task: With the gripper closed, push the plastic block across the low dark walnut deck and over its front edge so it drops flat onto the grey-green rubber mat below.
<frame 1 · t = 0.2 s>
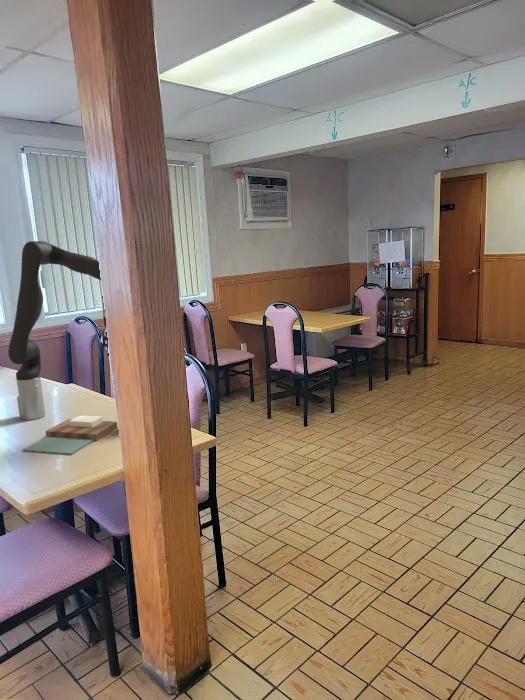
hand: (116, 354, 204), 28 cm above the table, tool pointing down, fingers open, 8 cm apart
plastic block: (86, 421, 201), point 3 cm above the table, touching walnut deck
walnut deck: (82, 432, 199), on the table
rubber mat: (59, 446, 186), on the table
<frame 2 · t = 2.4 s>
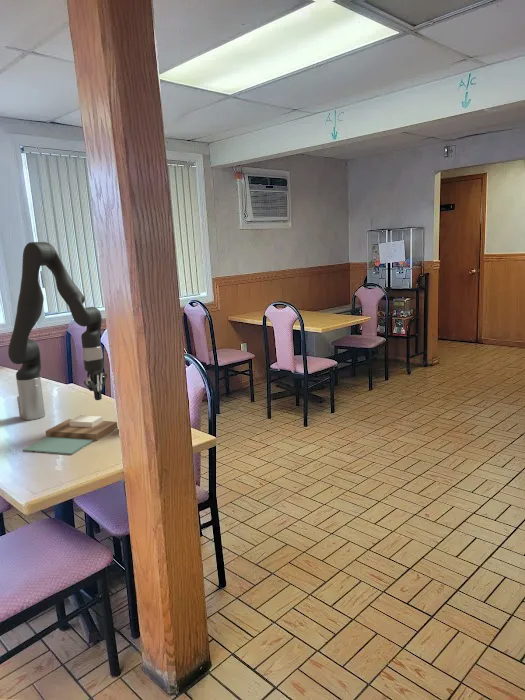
hand: (98, 399, 208), 10 cm above the table, tool pointing down, fingers closed
nothing on the table moved.
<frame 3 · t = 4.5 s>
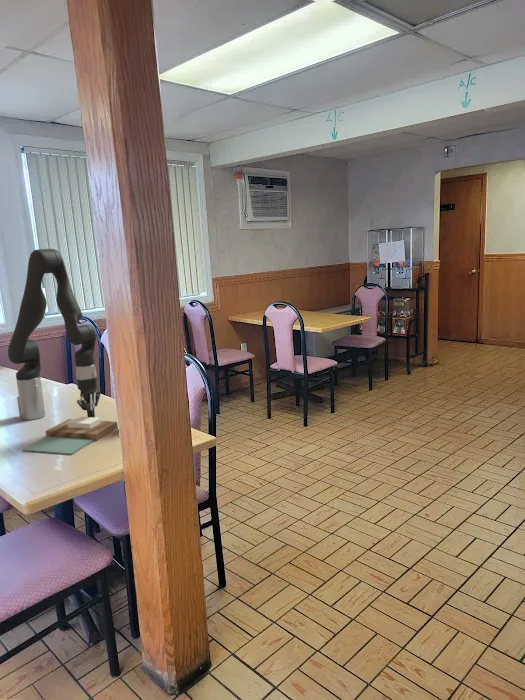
hand: (91, 418, 204), 3 cm above the table, tool pointing down, fingers closed
plastic block: (84, 422, 199), point 4 cm above the table, touching gripper, walnut deck
everything else where it was.
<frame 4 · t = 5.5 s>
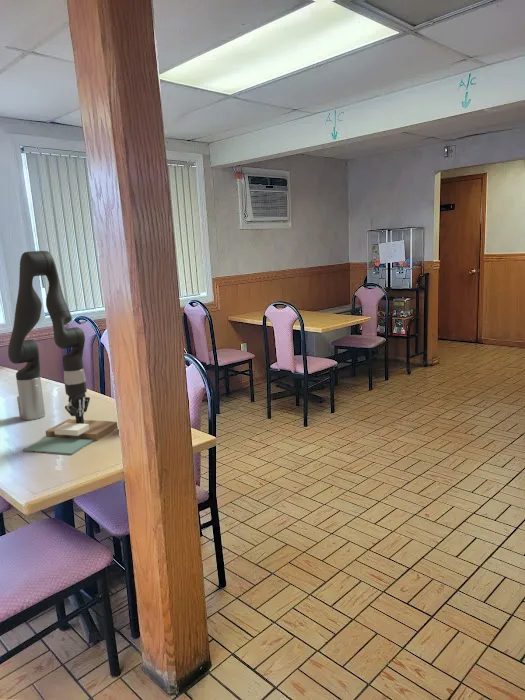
hand: (80, 425, 197), 3 cm above the table, tool pointing down, fingers closed
plastic block: (71, 429, 192), point 4 cm above the table, touching gripper
everything else where it was.
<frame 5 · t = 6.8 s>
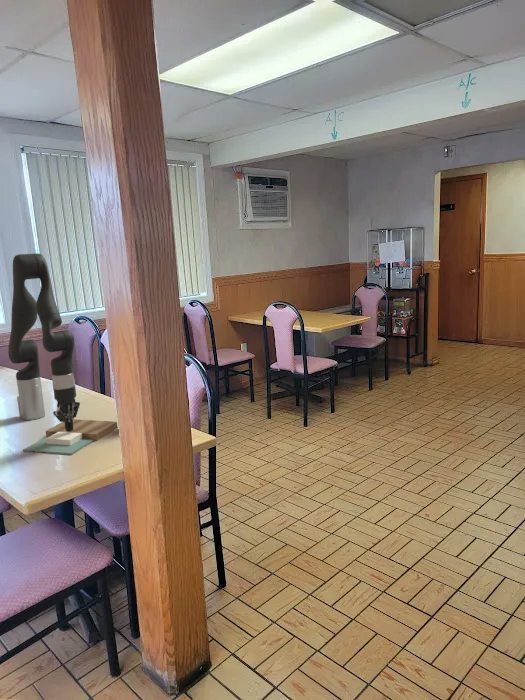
hand: (69, 430, 191), 3 cm above the table, tool pointing down, fingers closed
plastic block: (64, 438, 188), point 2 cm above the table, touching rubber mat
everything else where it was.
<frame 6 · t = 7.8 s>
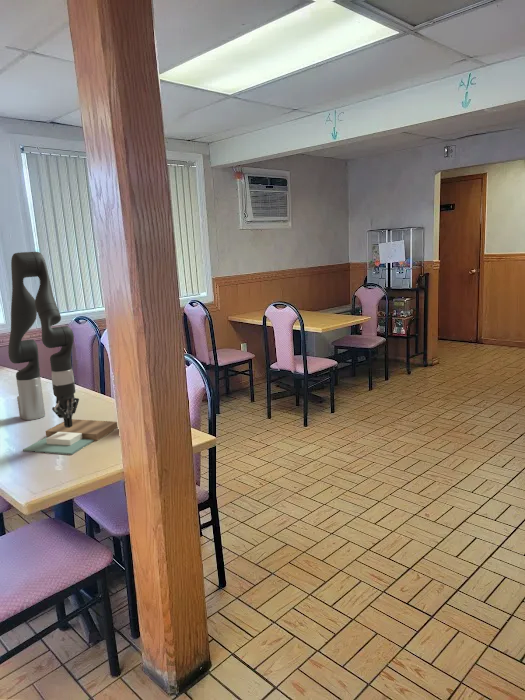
hand: (68, 426, 191), 5 cm above the table, tool pointing down, fingers closed
nothing on the table moved.
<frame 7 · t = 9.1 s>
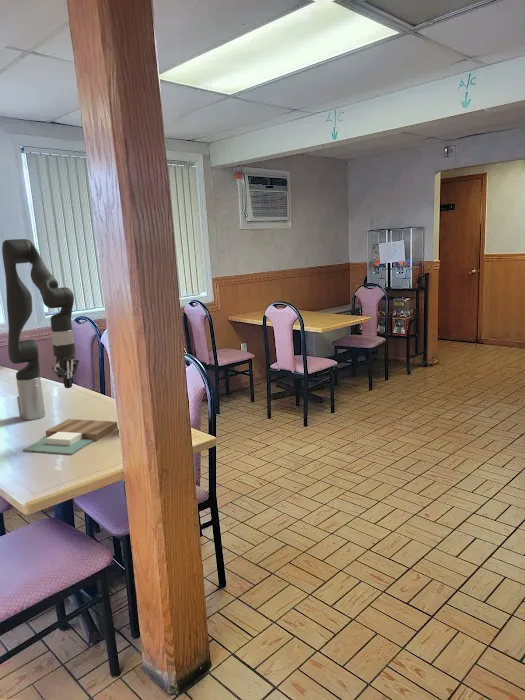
hand: (68, 387, 194), 18 cm above the table, tool pointing down, fingers closed
nothing on the table moved.
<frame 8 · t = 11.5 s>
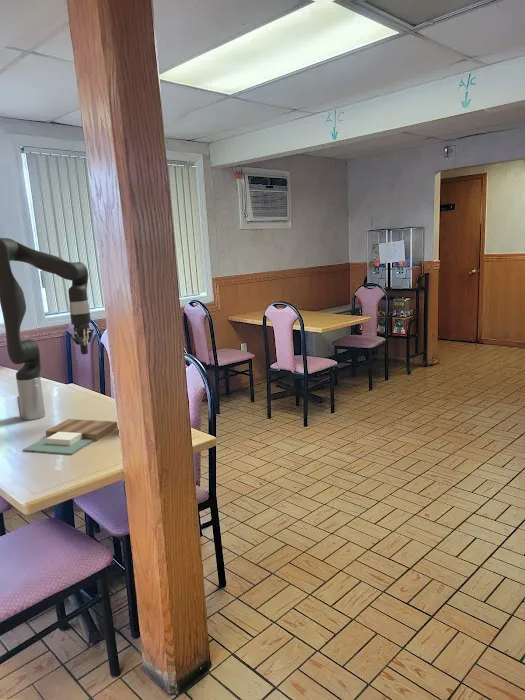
hand: (84, 354, 213), 27 cm above the table, tool pointing down, fingers closed
nothing on the table moved.
at the end: plastic block inside the target area (3.4 cm from its centre), point 1.6 cm above the table; plastic block touching rubber mat; plastic block moved 13.7 cm from its start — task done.
